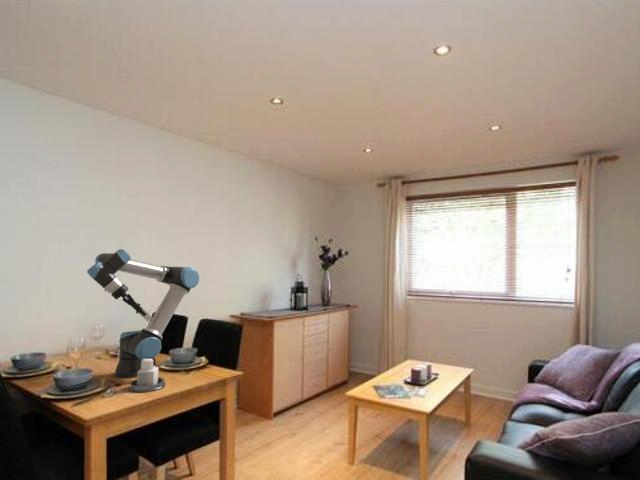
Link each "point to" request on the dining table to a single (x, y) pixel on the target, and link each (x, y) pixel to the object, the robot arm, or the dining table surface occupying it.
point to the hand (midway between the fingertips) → (148, 317)
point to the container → (147, 372)
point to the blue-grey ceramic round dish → (148, 388)
